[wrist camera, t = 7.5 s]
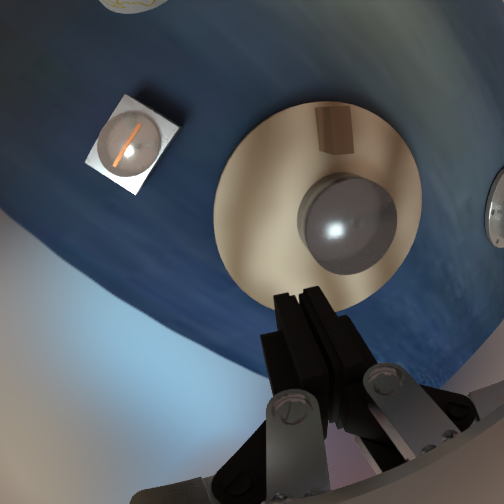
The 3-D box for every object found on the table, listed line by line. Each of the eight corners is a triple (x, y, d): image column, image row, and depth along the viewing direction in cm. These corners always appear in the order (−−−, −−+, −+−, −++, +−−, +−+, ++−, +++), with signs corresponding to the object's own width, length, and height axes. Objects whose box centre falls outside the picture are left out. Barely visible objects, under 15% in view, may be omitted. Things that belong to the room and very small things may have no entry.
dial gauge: (134, 97, 20) (122, 93, 17) (182, 127, 22) (178, 127, 19) (97, 157, 22) (80, 164, 18) (143, 186, 24) (133, 197, 20)
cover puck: (379, 168, 23) (398, 174, 21) (377, 250, 27) (393, 264, 24) (292, 177, 23) (304, 185, 20) (300, 266, 26) (310, 284, 23)
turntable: (410, 103, 22) (441, 104, 18) (405, 283, 31) (426, 304, 27) (194, 117, 21) (190, 115, 17) (234, 324, 30) (239, 354, 26)
